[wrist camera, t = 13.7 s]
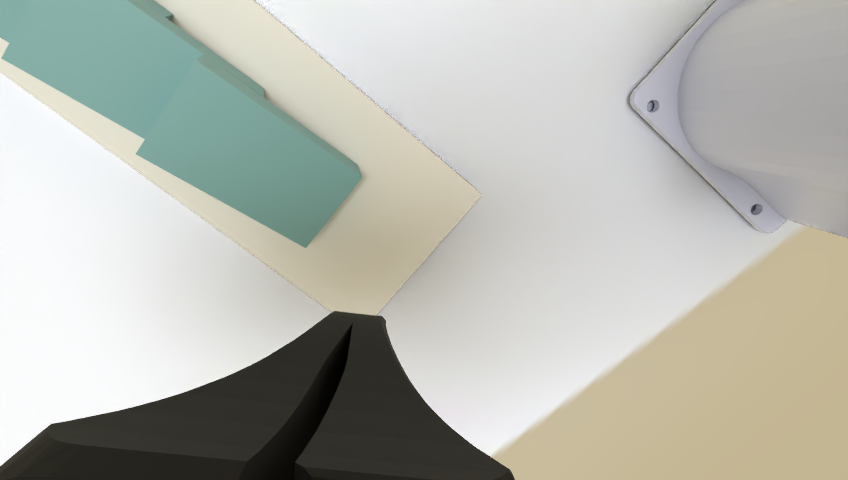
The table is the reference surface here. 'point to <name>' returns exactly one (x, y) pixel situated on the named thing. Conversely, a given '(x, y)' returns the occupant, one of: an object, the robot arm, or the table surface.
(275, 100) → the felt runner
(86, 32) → the tile
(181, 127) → the teal green rectangular block
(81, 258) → the table surface
